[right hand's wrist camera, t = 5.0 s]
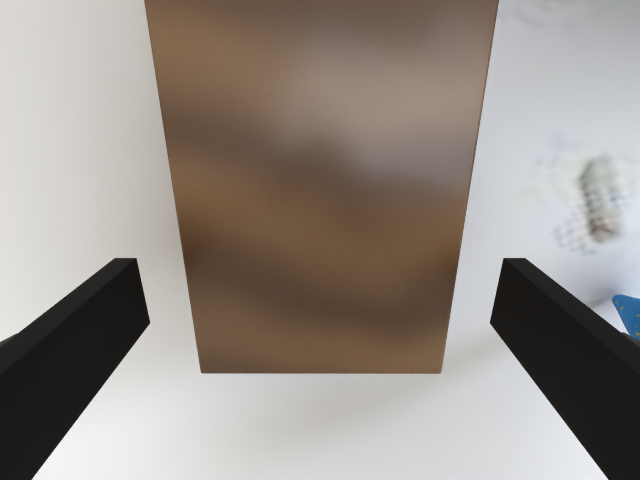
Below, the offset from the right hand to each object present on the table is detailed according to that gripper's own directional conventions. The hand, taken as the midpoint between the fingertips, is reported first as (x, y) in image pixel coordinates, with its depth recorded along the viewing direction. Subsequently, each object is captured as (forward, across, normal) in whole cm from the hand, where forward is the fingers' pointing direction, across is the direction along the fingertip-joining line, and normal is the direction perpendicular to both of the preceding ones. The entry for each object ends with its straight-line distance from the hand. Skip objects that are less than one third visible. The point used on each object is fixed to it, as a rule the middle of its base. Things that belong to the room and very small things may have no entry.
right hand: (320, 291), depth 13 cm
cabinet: (+11, 0, -5) cm, 12 cm away
